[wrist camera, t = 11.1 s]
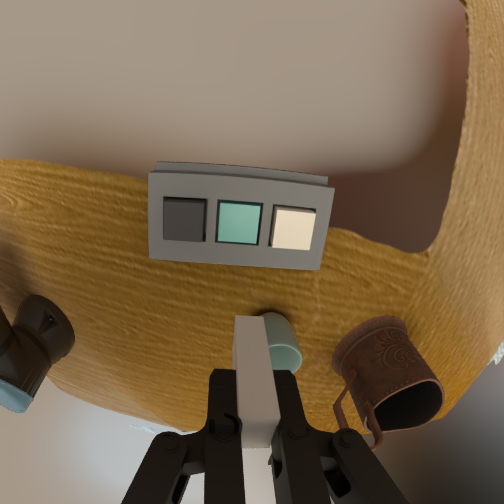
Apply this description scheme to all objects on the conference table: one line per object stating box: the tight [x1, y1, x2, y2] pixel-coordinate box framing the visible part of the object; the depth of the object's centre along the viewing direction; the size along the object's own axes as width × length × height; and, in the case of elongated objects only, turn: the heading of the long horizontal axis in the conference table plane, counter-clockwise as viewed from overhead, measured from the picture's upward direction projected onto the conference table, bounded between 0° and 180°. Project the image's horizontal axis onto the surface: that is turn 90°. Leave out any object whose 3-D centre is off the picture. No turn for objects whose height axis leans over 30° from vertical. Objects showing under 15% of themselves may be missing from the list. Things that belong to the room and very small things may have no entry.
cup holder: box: [332, 316, 445, 452], centre depth 40 cm, size 18×24×25 cm
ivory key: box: [269, 204, 316, 250], centre depth 36 cm, size 5×5×3 cm
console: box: [148, 162, 335, 270], centre depth 37 cm, size 24×14×4 cm, turn 84°
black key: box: [164, 197, 206, 242], centre depth 35 cm, size 5×5×3 cm
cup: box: [260, 312, 303, 374], centre depth 42 cm, size 8×8×10 cm
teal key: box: [218, 200, 260, 244], centre depth 36 cm, size 5×5×3 cm
